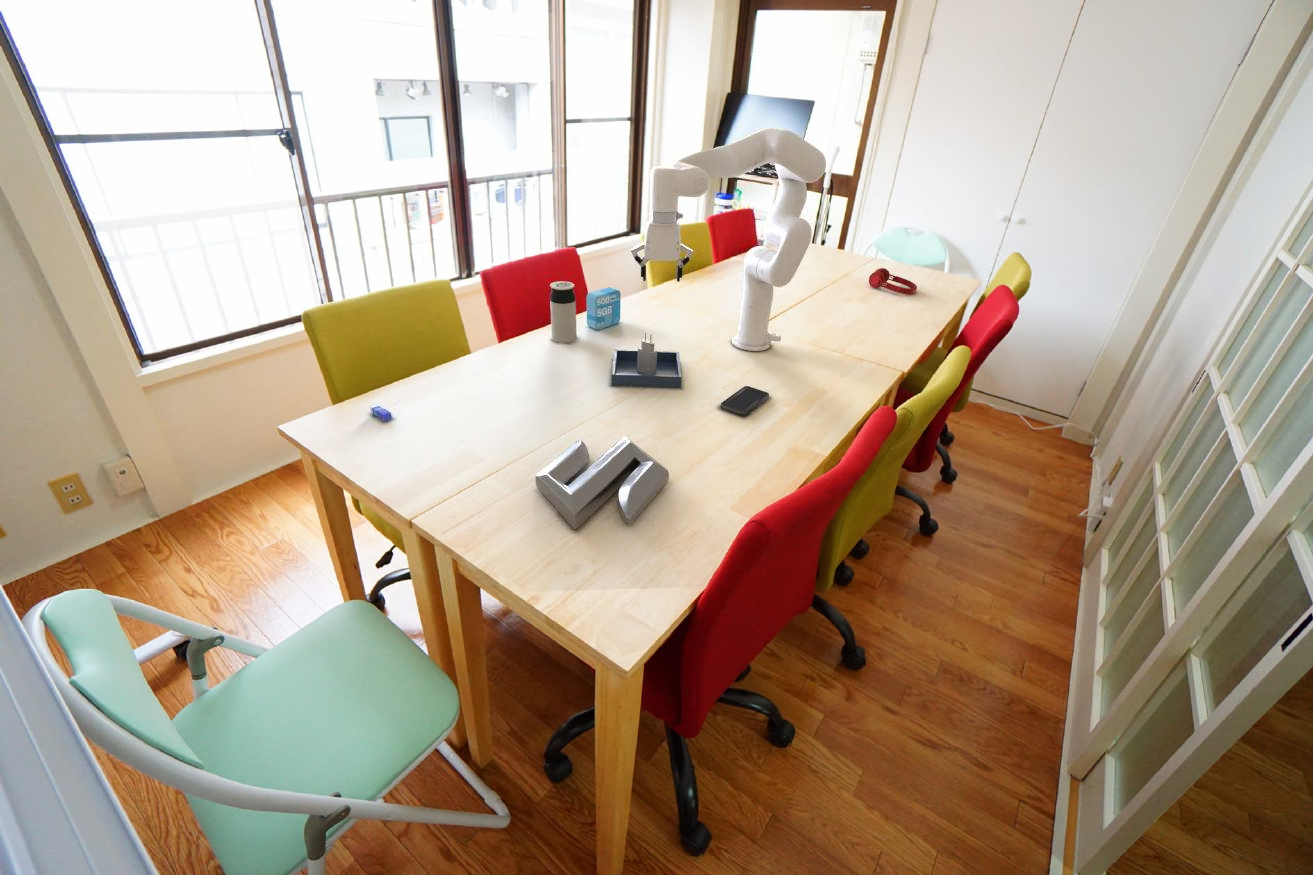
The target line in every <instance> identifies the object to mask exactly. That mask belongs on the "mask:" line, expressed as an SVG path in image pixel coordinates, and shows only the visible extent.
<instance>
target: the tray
mask: <svg viewBox="0 0 1313 875" xmlns="http://www.w3.org/2000/svg"><path fill="white" fill-rule="evenodd" d="M612 361H613V362H612V367H611V368H612V369H611V380H610V382H611V385H610V386H611V387H629V388H631V387H632V388H654V389H655V388H658V389H682V382H683V381H682V380H683V379H682V378H683V375H682V367H681V358H680V352H679V351H668V350H667V351H665V350H657V367H656V374H654V375H646V374H643V373H640V372H638V371H637V362H638V349H617V348H615V349H614V352H613V359H612Z"/></svg>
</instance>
